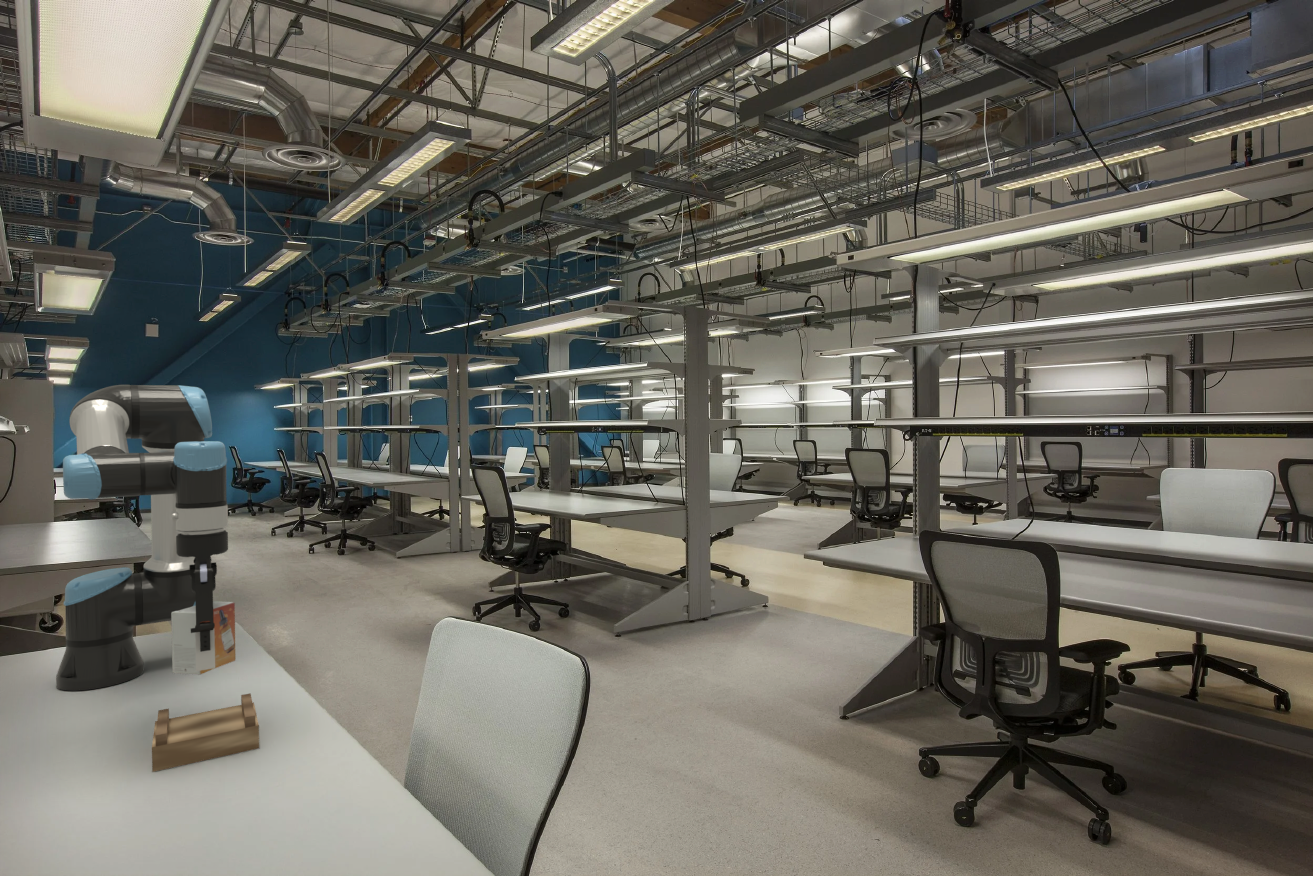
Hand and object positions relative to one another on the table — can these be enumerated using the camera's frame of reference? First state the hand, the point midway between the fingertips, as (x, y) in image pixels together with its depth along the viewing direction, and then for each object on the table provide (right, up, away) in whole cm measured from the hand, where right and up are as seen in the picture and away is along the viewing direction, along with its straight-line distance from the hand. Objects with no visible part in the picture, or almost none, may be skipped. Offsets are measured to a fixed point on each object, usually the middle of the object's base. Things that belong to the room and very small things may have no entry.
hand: (205, 660), depth 123 cm
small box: (0, -1, 0) cm, 1 cm away
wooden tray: (0, -15, 0) cm, 15 cm away
